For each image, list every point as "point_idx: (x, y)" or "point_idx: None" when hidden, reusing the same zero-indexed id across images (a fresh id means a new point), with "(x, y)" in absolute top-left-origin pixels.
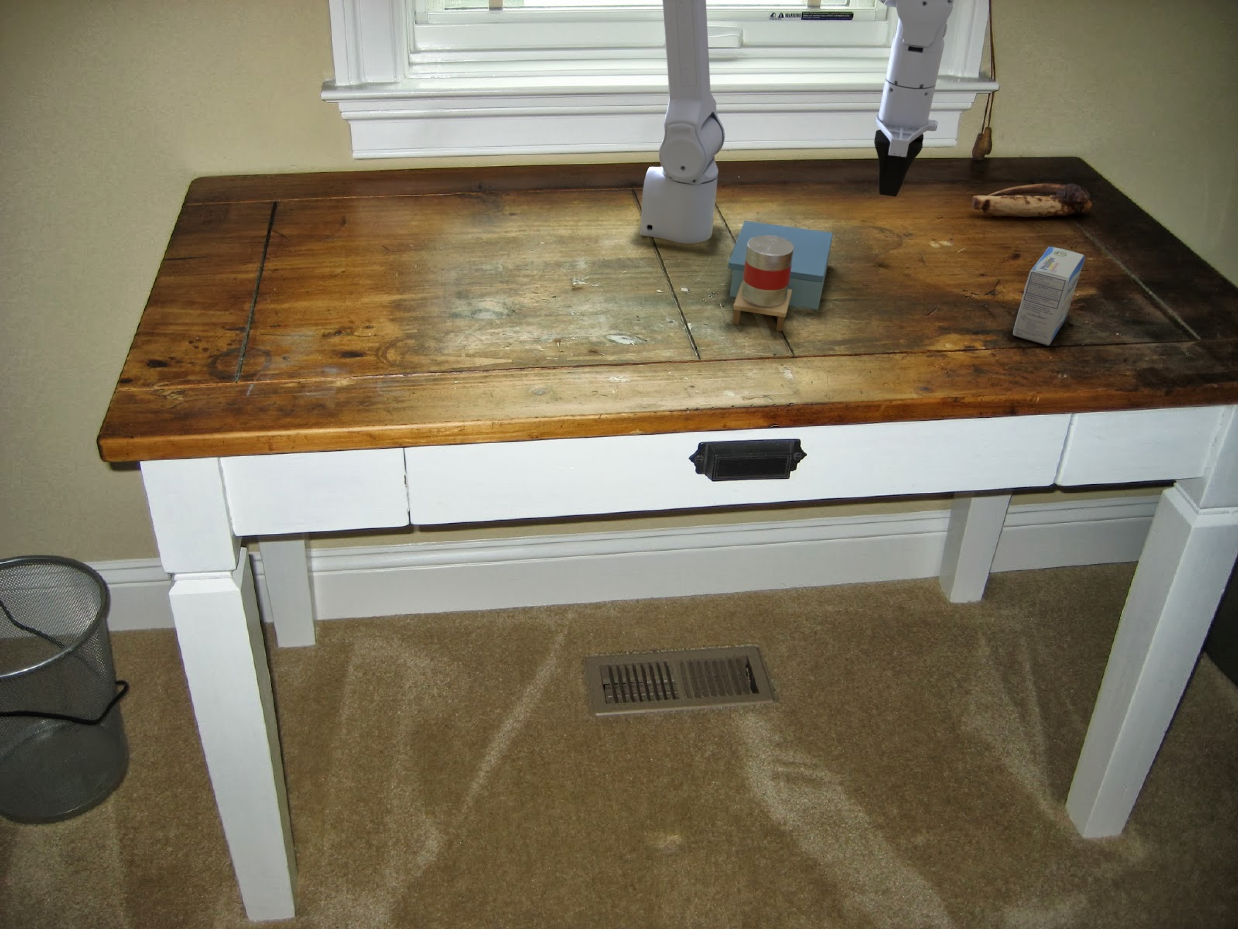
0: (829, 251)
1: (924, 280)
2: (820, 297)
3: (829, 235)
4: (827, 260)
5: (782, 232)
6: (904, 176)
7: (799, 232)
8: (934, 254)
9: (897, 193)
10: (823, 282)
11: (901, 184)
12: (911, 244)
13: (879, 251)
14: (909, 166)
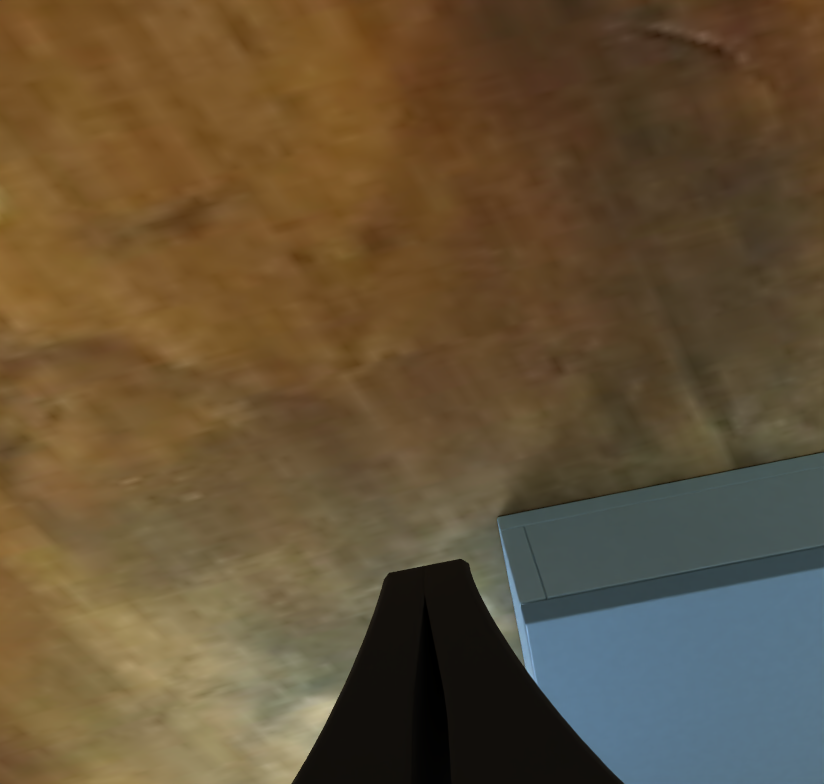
0: (622, 574)
1: (382, 154)
2: (810, 475)
3: (566, 627)
4: (728, 557)
5: (617, 760)
6: (521, 665)
7: (591, 718)
8: (75, 179)
9: (463, 569)
10: (737, 503)
11: (488, 612)
12: (48, 303)
13: (215, 401)
14: (582, 747)
